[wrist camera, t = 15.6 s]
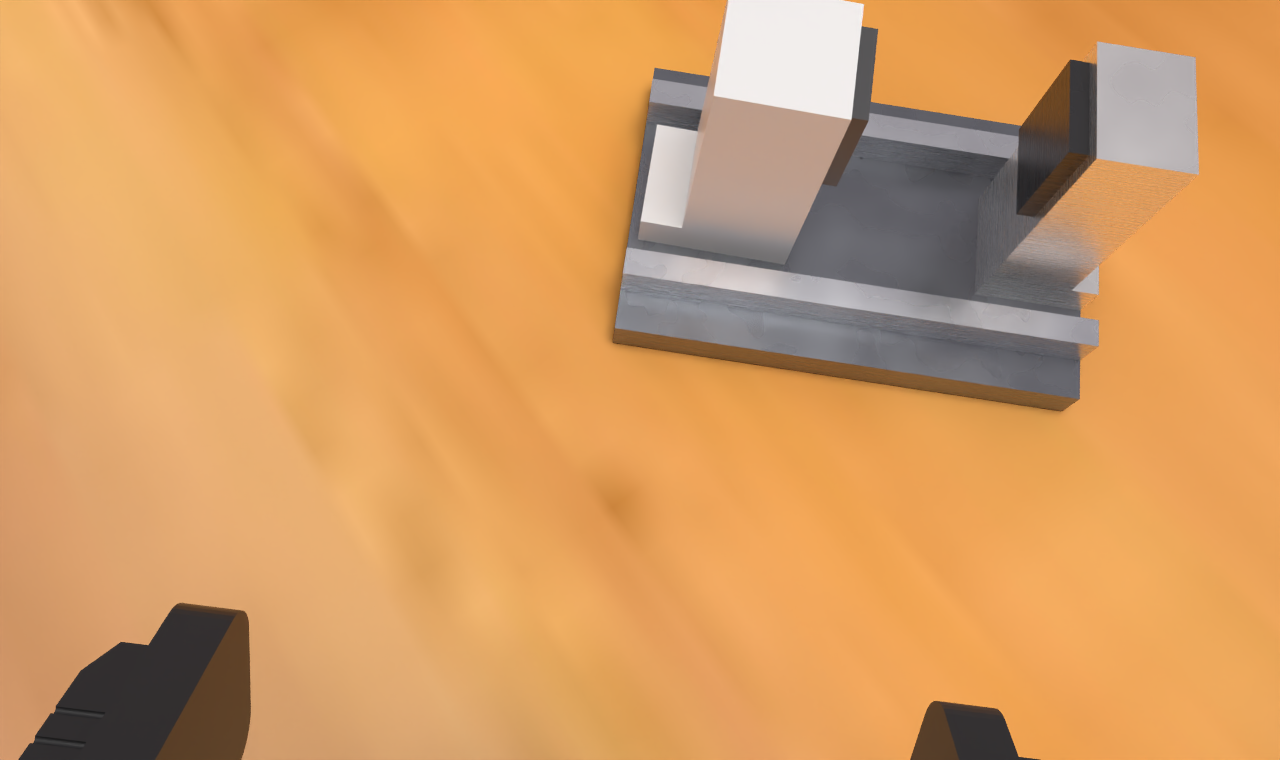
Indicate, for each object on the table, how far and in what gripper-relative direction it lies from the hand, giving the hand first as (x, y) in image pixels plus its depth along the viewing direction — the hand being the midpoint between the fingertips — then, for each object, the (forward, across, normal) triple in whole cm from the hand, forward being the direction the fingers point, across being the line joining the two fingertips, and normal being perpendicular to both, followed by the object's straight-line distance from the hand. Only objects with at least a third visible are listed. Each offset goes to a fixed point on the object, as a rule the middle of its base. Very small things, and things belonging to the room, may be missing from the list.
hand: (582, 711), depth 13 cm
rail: (+32, -9, +4) cm, 33 cm away
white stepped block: (+31, -4, +3) cm, 31 cm away
